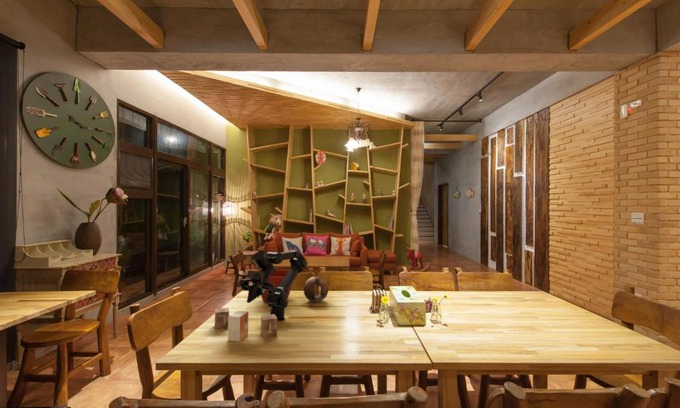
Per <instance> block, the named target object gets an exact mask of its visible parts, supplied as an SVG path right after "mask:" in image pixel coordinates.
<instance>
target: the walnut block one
mask: <svg viewBox="0 0 680 408" xmlns="http://www.w3.org/2000/svg"><path fill="white" fill-rule="evenodd" d="M260 319H261V320H260V334H261V337H262V339H269V338H277V337H278V321H277V317H276V316H275V314H272V315H270V314H265V315H264V314H263V315H261V316H260Z"/></svg>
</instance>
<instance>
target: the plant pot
mask: <svg viewBox="0 0 680 408" xmlns="http://www.w3.org/2000/svg"><path fill="white" fill-rule="evenodd" d="M289 270H290V269H287V270H286V269H285V270H283V269H281V270H280V269H276V272H272V273H271V275H270V277H269V279H270V280H269V281H267V282H268V283H272V284H273V285H274V287H275V288H277V287H278V286H279V285H280V283H281V282H282V280H283V279H284V277H285V276H286V275H287V273H288V272H289ZM292 285H293V283H292V284H291V285H290V287H289V288H288V290H287V291H286V293H285V294H286V298H285V299H286V301H287V302H288V299H289V296H290V294H291V290H292ZM263 293H264V294H262V295H260V297H261V299H262V301H263V304H268V303H267V296H268V294H269V290H265V291H264V292H263Z"/></svg>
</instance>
